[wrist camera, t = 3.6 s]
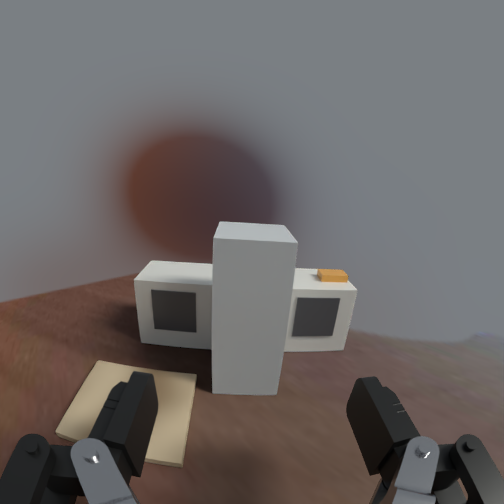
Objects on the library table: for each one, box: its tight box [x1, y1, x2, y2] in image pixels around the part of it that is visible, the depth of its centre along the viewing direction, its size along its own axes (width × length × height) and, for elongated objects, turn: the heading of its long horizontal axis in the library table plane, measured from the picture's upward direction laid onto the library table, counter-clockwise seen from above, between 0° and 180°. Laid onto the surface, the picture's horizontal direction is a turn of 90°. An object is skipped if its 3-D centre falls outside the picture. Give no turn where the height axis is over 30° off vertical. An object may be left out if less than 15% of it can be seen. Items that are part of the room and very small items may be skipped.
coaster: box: [55, 360, 197, 468], centre depth 15 cm, size 8×8×1 cm
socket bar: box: [134, 261, 357, 352], centre depth 25 cm, size 18×5×7 cm, turn 92°
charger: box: [212, 222, 298, 395], centre depth 20 cm, size 4×7×11 cm, turn 2°
